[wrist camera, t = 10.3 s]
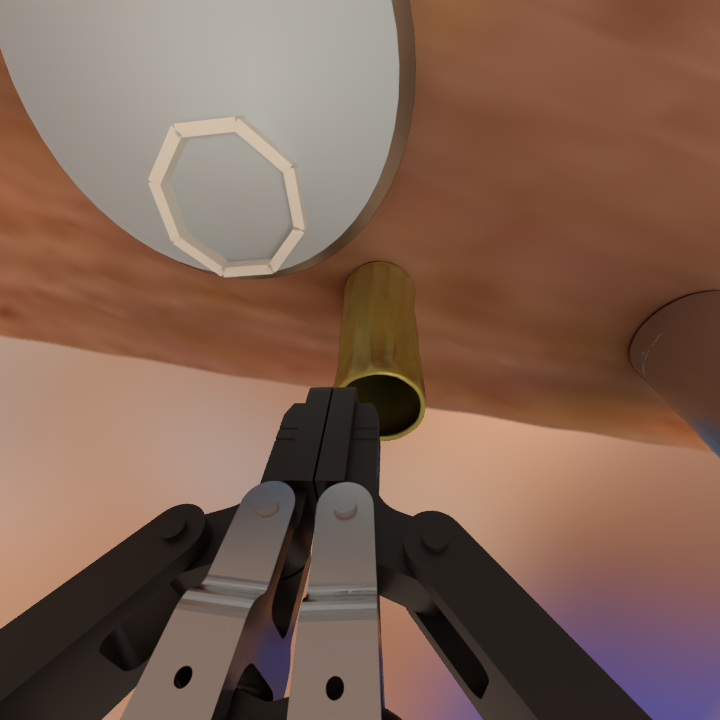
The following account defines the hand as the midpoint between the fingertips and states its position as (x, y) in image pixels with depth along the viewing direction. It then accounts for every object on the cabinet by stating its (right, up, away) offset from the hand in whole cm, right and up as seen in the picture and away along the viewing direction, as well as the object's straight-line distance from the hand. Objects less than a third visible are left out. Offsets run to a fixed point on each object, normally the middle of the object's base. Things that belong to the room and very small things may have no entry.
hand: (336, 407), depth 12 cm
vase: (+2, +7, +19) cm, 21 cm away
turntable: (-8, +18, +10) cm, 22 cm away
